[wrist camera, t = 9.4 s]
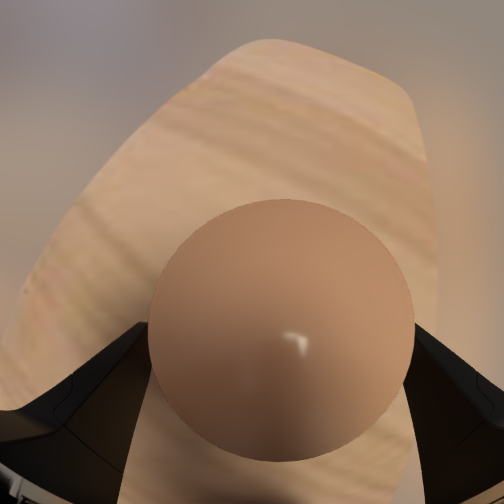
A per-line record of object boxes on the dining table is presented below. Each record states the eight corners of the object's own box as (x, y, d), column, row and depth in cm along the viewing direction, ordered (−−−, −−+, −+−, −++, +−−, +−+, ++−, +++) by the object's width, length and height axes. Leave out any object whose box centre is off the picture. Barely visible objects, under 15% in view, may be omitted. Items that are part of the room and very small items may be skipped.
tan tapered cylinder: (320, 361, 16) (430, 412, 4) (241, 379, 16) (182, 474, 4) (302, 284, 18) (371, 181, 6) (224, 302, 18) (134, 231, 5)
